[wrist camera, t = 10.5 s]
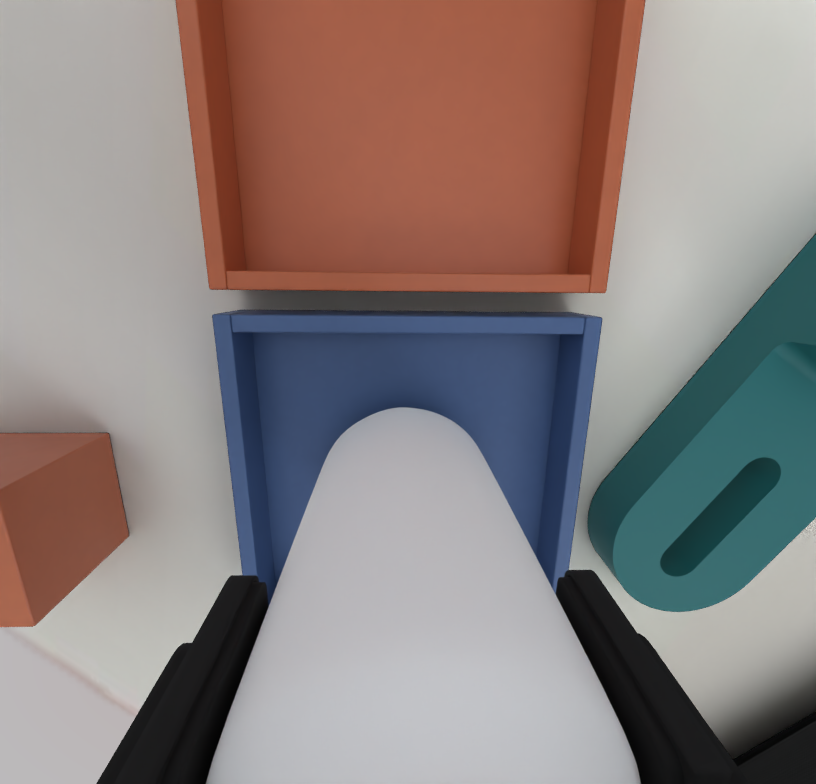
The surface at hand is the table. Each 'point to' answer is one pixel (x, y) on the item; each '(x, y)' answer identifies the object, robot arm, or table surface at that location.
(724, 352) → the bracket
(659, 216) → the table surface
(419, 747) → the can
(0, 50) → the table surface
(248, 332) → the blue tray
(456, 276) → the terracotta tray
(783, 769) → the portable speaker
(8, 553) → the block
